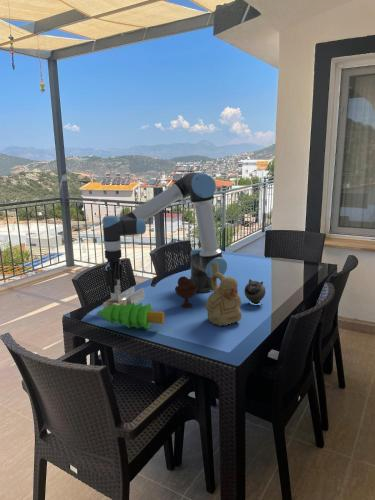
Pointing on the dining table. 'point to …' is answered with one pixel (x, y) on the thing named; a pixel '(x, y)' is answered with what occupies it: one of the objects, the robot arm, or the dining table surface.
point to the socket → (109, 303)
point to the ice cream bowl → (186, 290)
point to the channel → (134, 295)
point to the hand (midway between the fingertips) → (116, 297)
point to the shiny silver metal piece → (126, 297)
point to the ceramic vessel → (223, 299)
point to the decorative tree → (132, 315)
